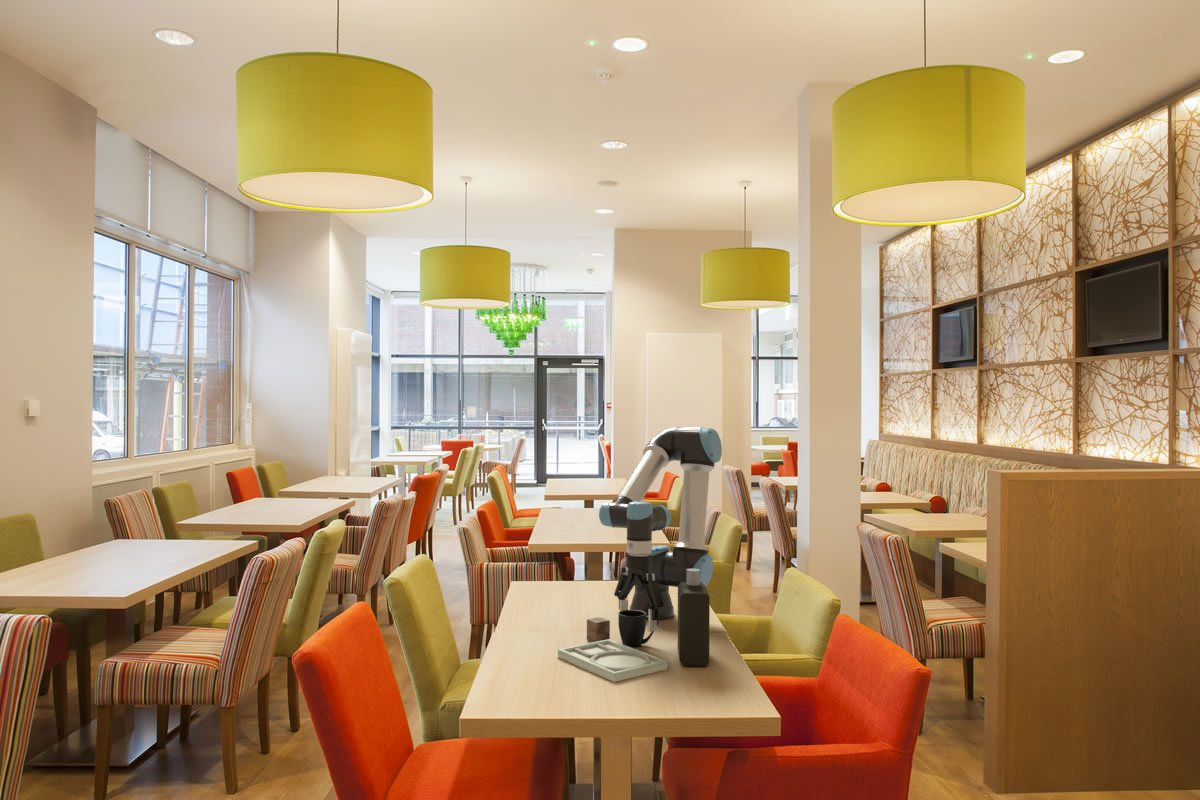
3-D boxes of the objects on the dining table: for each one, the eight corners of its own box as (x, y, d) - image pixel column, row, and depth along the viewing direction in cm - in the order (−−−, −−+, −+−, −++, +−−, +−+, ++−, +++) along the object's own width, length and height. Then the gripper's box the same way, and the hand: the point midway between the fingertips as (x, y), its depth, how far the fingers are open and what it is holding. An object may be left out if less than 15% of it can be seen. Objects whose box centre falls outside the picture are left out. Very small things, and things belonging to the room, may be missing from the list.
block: (599, 636, 254) (600, 616, 254) (609, 640, 250) (609, 620, 250) (586, 639, 251) (586, 619, 251) (596, 642, 247) (596, 622, 247)
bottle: (680, 667, 224) (680, 575, 224) (677, 650, 240) (677, 564, 240) (709, 668, 223) (710, 575, 223) (704, 650, 239) (705, 564, 239)
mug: (657, 650, 239) (658, 617, 240) (616, 648, 241) (617, 615, 241) (659, 642, 248) (659, 610, 248) (619, 640, 249) (619, 609, 249)
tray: (608, 646, 243) (608, 639, 243) (666, 669, 222) (667, 661, 222) (557, 657, 232) (557, 649, 232) (614, 682, 211) (614, 673, 211)
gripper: (603, 549, 252) (602, 619, 252) (656, 561, 232) (655, 637, 232) (622, 547, 257) (621, 616, 256) (676, 559, 237) (675, 633, 236)
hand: (637, 626), depth 244 cm, fingers open, 13 cm apart
